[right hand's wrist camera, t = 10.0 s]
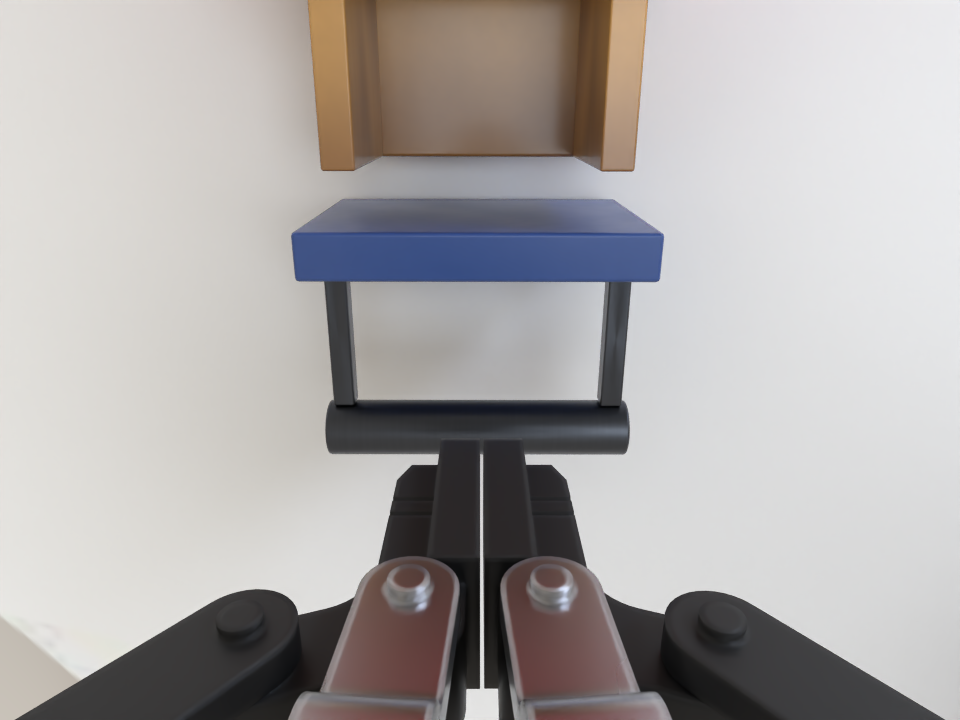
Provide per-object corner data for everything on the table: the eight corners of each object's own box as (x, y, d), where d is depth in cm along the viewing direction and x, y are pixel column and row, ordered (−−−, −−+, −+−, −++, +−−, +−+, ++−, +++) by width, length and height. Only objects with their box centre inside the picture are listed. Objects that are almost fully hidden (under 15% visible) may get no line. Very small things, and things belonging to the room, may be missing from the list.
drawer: (601, 391, 24) (640, 483, 18) (354, 391, 24) (314, 483, 18) (666, -516, 16) (776, -883, 10) (291, -517, 16) (180, -885, 10)
